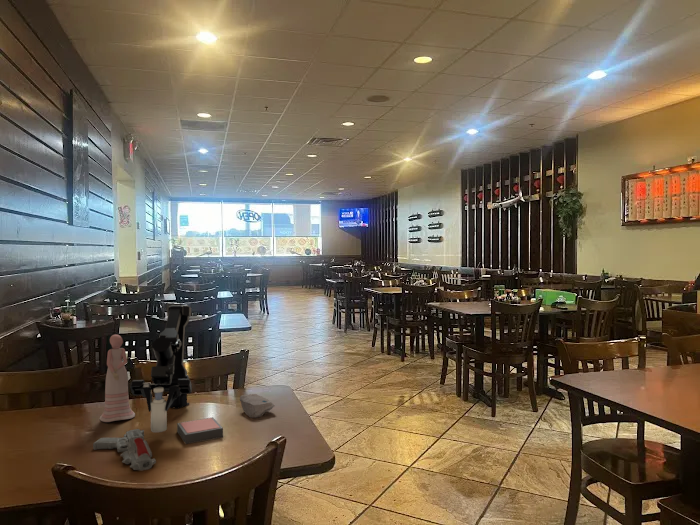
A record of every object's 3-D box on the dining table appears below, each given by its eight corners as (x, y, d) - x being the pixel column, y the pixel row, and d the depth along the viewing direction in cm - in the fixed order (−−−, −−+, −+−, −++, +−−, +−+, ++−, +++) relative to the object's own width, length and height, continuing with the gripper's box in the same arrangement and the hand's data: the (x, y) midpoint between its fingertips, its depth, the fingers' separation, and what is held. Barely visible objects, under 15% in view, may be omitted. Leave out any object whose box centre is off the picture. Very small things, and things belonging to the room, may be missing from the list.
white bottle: (147, 430, 165) (147, 389, 164) (159, 425, 169) (159, 385, 169) (158, 433, 163) (158, 391, 162) (170, 428, 167) (169, 387, 167)
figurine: (114, 410, 194) (114, 331, 193) (144, 412, 191) (143, 332, 190) (89, 421, 181) (88, 337, 180) (121, 424, 179) (120, 339, 177)
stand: (177, 431, 172) (177, 422, 172) (212, 425, 178) (212, 416, 178) (185, 444, 162) (185, 434, 162) (223, 437, 168) (223, 427, 168)
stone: (276, 414, 192) (276, 398, 192) (255, 420, 185) (255, 403, 185) (256, 406, 201) (256, 391, 201) (235, 411, 195) (235, 396, 195)
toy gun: (98, 470, 138) (157, 456, 145) (92, 436, 161) (143, 426, 168) (98, 482, 138) (157, 468, 145) (92, 447, 161) (143, 437, 168)
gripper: (131, 355, 168) (121, 399, 157) (190, 354, 170) (185, 397, 160) (137, 373, 176) (128, 416, 165) (193, 371, 179) (189, 414, 168)
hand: (157, 410), depth 164 cm, fingers closed on white bottle, 5 cm apart
